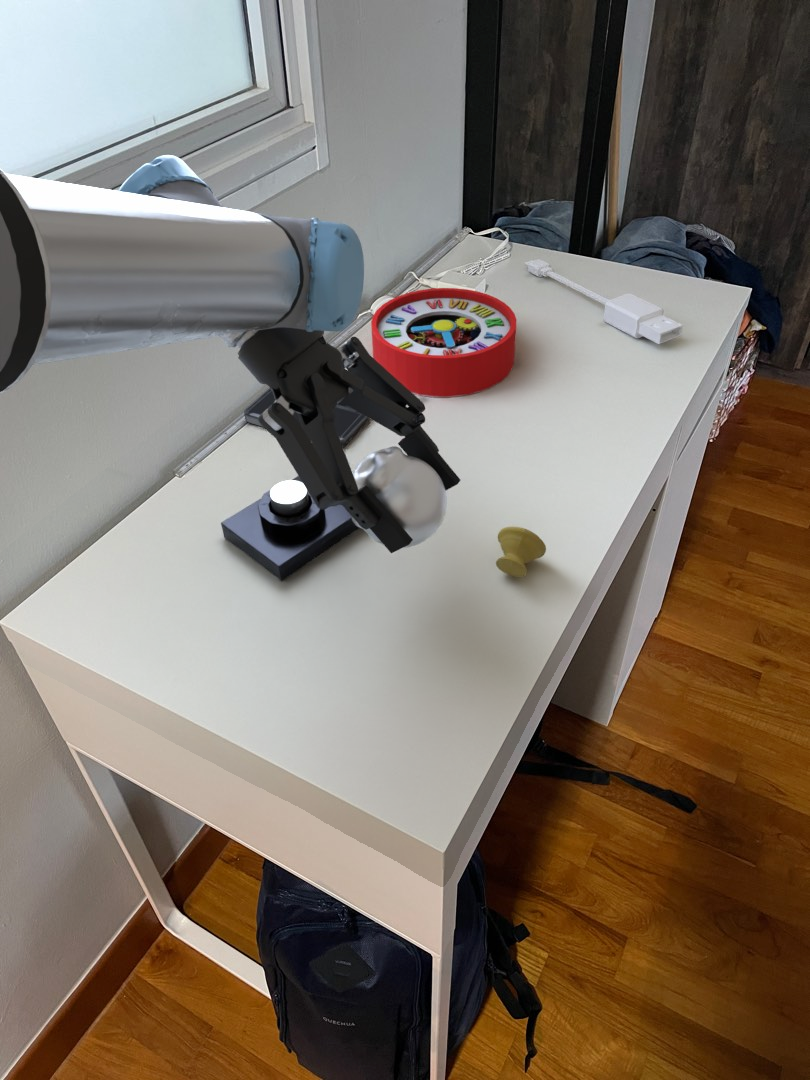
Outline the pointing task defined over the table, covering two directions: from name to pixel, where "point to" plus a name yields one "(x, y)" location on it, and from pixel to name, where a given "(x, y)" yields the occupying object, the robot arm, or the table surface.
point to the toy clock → (445, 341)
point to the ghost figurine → (404, 491)
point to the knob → (518, 550)
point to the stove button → (289, 499)
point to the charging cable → (622, 310)
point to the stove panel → (286, 534)
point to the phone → (344, 420)
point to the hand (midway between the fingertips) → (427, 515)
